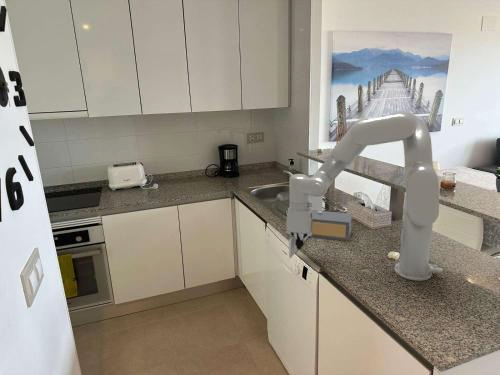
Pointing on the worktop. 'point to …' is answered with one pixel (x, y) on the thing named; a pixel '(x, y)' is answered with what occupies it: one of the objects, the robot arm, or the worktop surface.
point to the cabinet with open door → (331, 225)
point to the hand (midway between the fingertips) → (299, 247)
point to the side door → (292, 245)
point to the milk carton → (316, 202)
